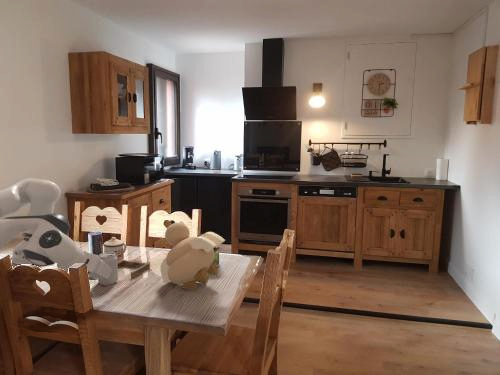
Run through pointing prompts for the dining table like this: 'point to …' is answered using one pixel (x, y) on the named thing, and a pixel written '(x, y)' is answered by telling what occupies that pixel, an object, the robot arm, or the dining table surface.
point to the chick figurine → (189, 256)
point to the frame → (140, 265)
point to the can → (112, 262)
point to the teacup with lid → (115, 248)
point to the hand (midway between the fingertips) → (94, 277)
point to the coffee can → (216, 251)
